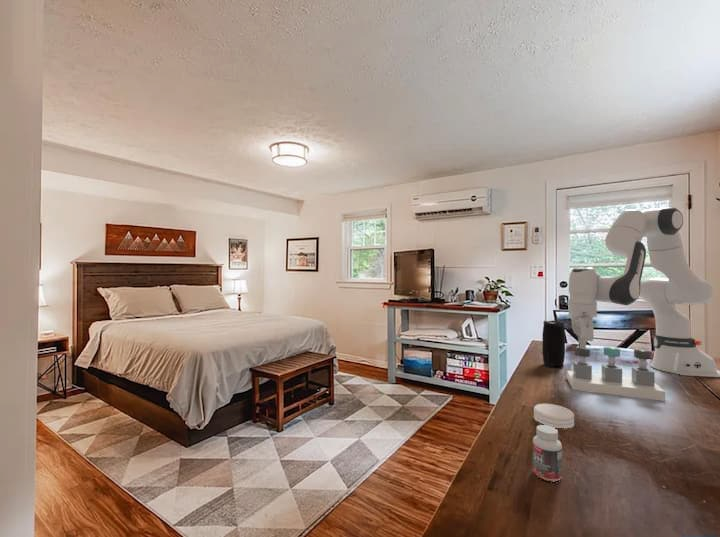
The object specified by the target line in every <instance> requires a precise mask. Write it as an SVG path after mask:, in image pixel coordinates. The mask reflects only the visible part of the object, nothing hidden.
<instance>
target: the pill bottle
mask: <svg viewBox="0 0 720 537" xmlns="http://www.w3.org/2000/svg"><path fill="white" fill-rule="evenodd" d="M558 430H559V429H555V428H554V427H551V426H547V425H542V424H539V425H537V426H536V435H535V436H533V438H532V472H533V471H534V472H535V473H536V474H537V475H539V476H541V477H542V478H545V479H548V480H553V481H555V480H556V481H557V480H560V479H561V478H562V479H563V476H562V475H563V445H562V442H561V441H560V440H559V431H558ZM562 479H561V480H562Z"/></svg>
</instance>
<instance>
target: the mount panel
mask: <svg viewBox="0 0 720 537" xmlns="http://www.w3.org/2000/svg"><path fill="white" fill-rule="evenodd" d="M572 363H573V369H572V370H567V371H566V379H567V381H568V382H569V386H570V387H571V389H572V390H573V391H581V392H589V393H590V392H591V393H598V394H606V395H615V396H622V397H623V396H624V397H631V398H638V399H648V400H655V401H662V402H663V401H664V402H665V401H666V391H665V390H664V389H663V388H662V387H661V386H659V385H658V384H657V383H656V382H655V371H653V369H651V368H649V367H647V369H646V370H643V369H639V366H638V367H637V366H631V376H625V375H624V376H623V368H621V366H619V365H618V364H617V365H616V364H615V367H611V366H608V364H607V363H601V373H594V372H592V370H593V365H592V364H591V363H590V362H586V365H581V364H579V361H574V360H573V362H572Z"/></svg>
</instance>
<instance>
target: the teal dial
mask: <svg viewBox="0 0 720 537" xmlns="http://www.w3.org/2000/svg"><path fill="white" fill-rule="evenodd" d="M603 355H604V356H607V357H608V361H607V362H608V366H611V367H615V365H616V358H617V357H618V358H619V357H621V348H618V347H613V346H604V347H603Z"/></svg>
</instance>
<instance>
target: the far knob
mask: <svg viewBox="0 0 720 537" xmlns="http://www.w3.org/2000/svg"><path fill="white" fill-rule="evenodd" d="M574 355H575V356H577V357H578V358H579V359H578V362H579V364H581V365H586V363H587V362H586V361H587V360H586V358H590V357H591V349H590V348H588V347H586V349H585V350H584V349H580V348H579V346H576V347H574Z"/></svg>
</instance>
